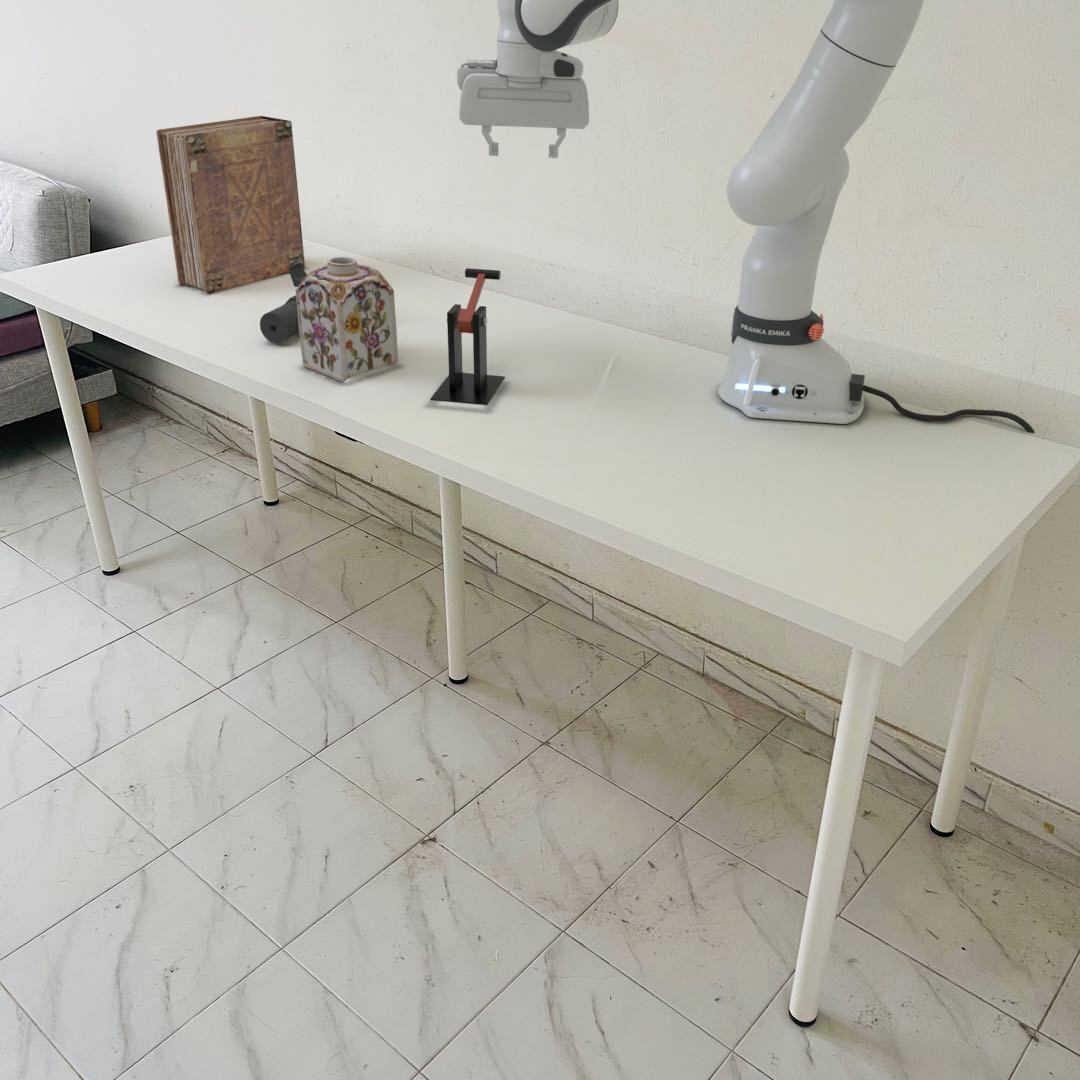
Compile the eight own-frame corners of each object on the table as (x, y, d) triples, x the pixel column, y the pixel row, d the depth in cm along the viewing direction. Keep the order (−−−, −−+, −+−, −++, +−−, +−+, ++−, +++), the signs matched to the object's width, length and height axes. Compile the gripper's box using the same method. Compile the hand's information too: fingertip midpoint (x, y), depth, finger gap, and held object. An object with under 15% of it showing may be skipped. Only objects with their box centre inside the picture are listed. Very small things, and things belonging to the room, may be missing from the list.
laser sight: (252, 341, 193) (245, 285, 188) (320, 306, 211) (315, 254, 206) (299, 349, 190) (293, 292, 185) (364, 312, 208) (360, 260, 203)
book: (205, 294, 217) (183, 135, 202) (178, 285, 222) (154, 130, 207) (305, 268, 234) (291, 120, 219) (278, 260, 239) (262, 115, 224)
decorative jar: (300, 367, 182) (289, 259, 173) (355, 350, 190) (348, 246, 181) (345, 385, 175) (336, 274, 166) (401, 367, 183) (395, 260, 174)
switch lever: (467, 275, 175) (466, 263, 173) (501, 278, 174) (499, 266, 172) (448, 331, 167) (446, 319, 165) (483, 334, 166) (481, 322, 164)
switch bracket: (451, 378, 178) (448, 295, 172) (504, 383, 177) (504, 300, 170) (430, 406, 168) (426, 319, 161) (486, 411, 167) (485, 324, 160)
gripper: (455, 61, 163) (456, 157, 170) (592, 66, 163) (587, 162, 170) (459, 56, 168) (459, 149, 175) (591, 61, 168) (586, 154, 175)
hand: (523, 156), depth 173 cm, fingers open, 8 cm apart
